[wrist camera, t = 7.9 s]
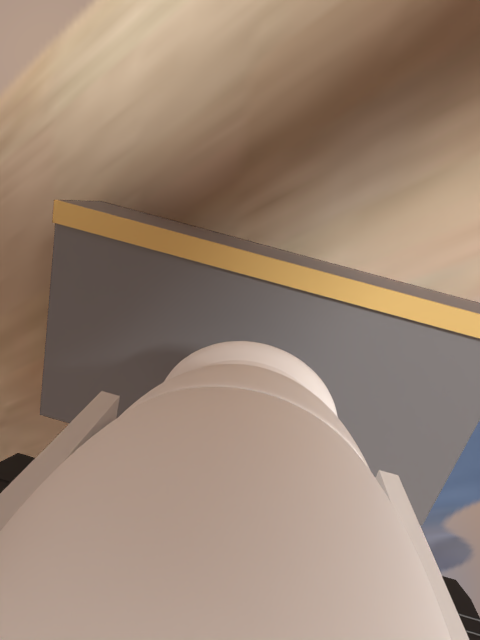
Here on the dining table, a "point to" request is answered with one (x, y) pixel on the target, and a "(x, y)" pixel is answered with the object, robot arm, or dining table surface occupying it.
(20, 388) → the dining table surface
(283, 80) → the dining table surface
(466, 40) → the dining table surface
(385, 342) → the dock
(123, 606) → the jar
